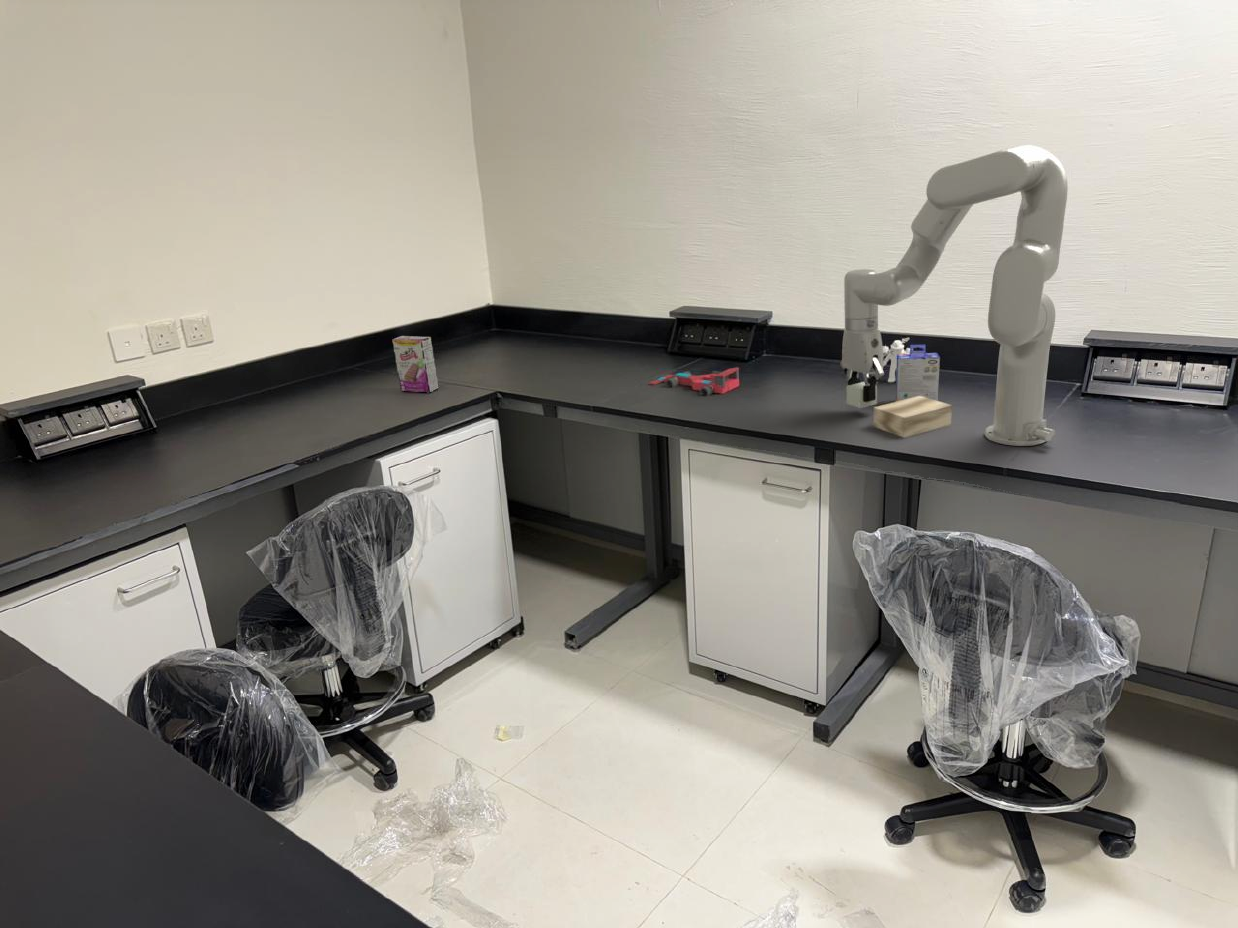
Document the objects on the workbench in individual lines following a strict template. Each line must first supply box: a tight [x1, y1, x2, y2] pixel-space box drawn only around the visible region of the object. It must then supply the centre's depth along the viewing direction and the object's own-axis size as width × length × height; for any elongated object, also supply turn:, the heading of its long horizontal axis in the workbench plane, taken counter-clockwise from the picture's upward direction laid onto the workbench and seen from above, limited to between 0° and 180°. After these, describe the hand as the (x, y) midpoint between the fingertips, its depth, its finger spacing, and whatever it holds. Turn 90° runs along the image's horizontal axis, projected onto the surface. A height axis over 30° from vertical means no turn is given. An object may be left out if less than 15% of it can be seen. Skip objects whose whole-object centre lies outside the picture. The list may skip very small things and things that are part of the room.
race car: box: [648, 366, 740, 397], centre depth 247 cm, size 14×6×25 cm
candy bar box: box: [391, 335, 440, 392], centre depth 263 cm, size 11×5×16 cm, turn 65°
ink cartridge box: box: [894, 344, 941, 402], centre depth 215 cm, size 10×6×14 cm, turn 78°
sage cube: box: [846, 381, 878, 409], centre depth 211 cm, size 5×5×4 cm
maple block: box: [872, 396, 953, 439], centre depth 202 cm, size 10×14×5 cm
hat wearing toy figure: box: [882, 337, 914, 383], centre depth 234 cm, size 9×4×12 cm, turn 54°
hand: (861, 397), depth 211 cm, fingers closed on sage cube, 5 cm apart
